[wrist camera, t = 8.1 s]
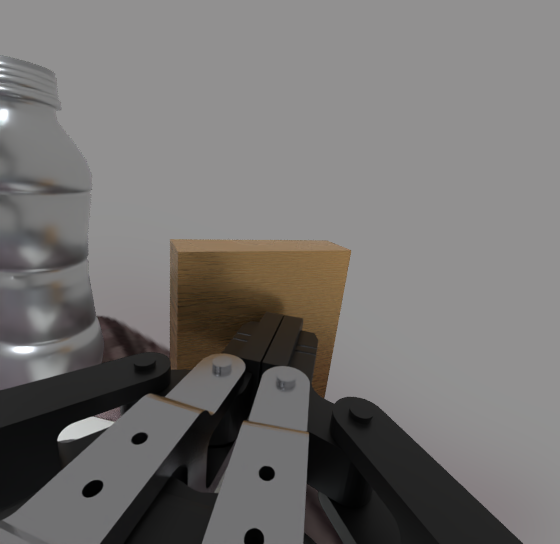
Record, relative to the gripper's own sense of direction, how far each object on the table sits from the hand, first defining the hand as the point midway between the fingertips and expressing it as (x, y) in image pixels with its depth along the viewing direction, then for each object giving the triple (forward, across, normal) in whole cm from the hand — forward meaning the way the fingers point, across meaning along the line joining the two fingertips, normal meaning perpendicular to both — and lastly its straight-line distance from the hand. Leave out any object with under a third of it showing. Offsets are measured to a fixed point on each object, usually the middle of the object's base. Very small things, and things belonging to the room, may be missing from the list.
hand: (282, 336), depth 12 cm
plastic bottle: (+5, +17, +10) cm, 20 cm away
